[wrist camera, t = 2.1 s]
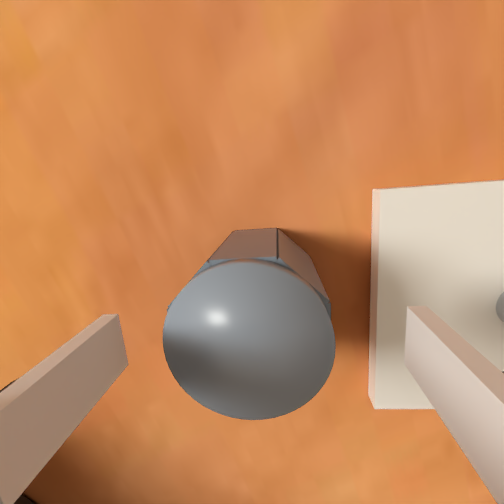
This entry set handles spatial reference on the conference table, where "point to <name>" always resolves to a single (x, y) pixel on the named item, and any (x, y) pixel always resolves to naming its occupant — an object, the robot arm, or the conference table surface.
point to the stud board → (434, 276)
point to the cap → (252, 328)
